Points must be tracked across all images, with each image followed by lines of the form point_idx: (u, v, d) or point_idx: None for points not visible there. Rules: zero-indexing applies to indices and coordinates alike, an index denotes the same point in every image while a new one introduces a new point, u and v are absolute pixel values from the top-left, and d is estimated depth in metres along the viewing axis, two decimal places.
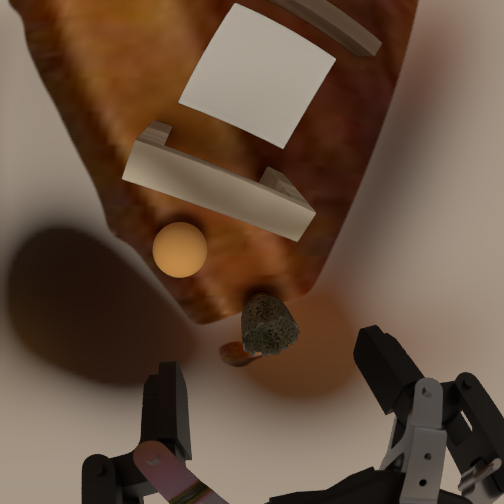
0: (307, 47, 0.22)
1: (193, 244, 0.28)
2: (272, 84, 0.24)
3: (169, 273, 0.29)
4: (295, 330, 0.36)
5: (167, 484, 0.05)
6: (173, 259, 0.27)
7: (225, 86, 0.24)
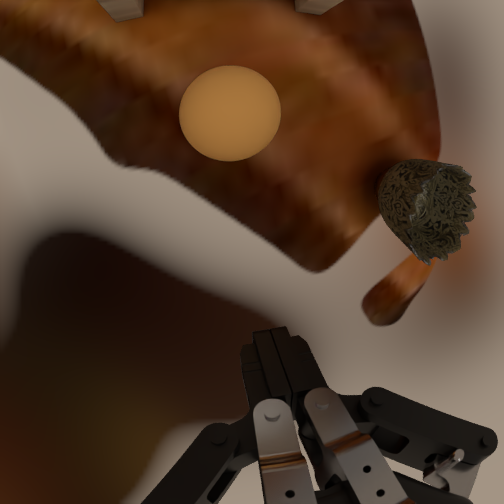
0: None
1: (244, 72, 0.13)
2: None
3: (225, 143, 0.14)
4: (465, 192, 0.16)
5: (270, 442, 0.07)
6: (220, 102, 0.12)
7: None
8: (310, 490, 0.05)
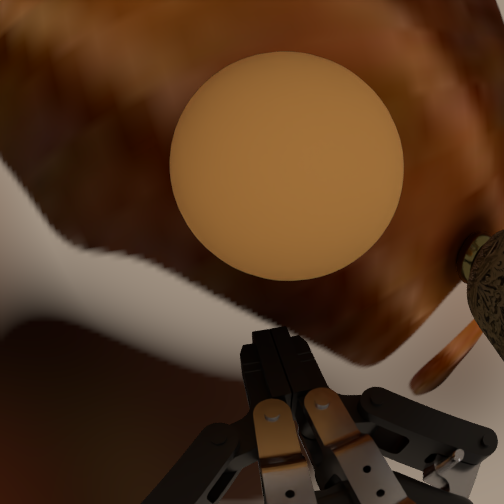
0: None
1: (343, 73, 0.05)
2: None
3: (296, 267, 0.06)
4: None
5: (270, 442, 0.07)
6: (293, 161, 0.04)
7: None
8: (310, 490, 0.05)
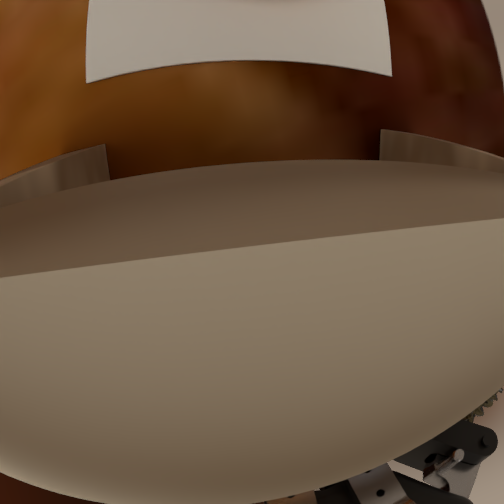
0: None
1: None
2: None
3: None
4: None
5: None
6: None
7: None
8: None
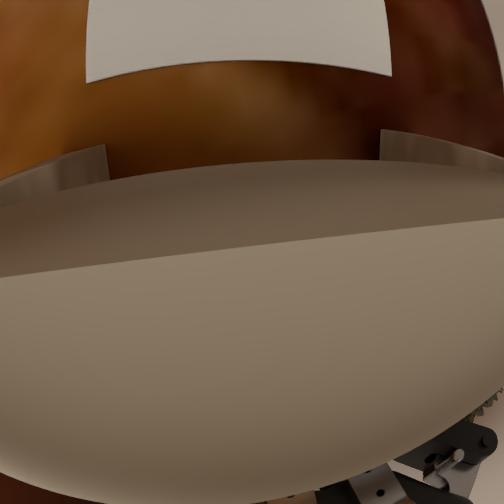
0: None
1: None
2: None
3: None
4: None
5: None
6: None
7: None
8: None
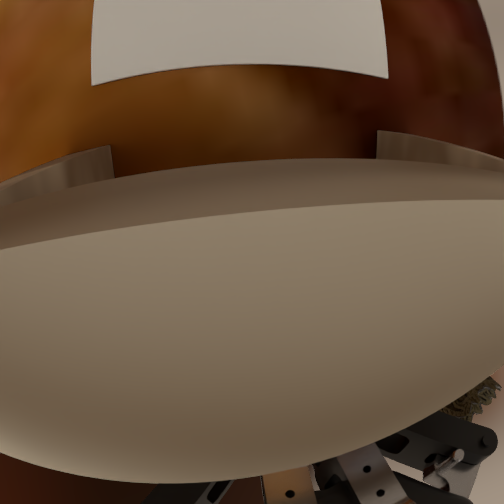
0: None
1: None
2: None
3: None
4: None
5: None
6: None
7: None
8: (310, 490, 0.05)
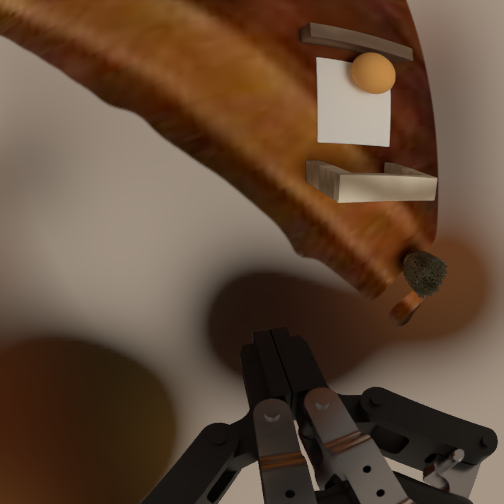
0: None
1: None
2: (366, 106, 0.33)
3: (376, 53, 0.26)
4: (442, 266, 0.40)
5: (270, 442, 0.07)
6: None
7: (341, 119, 0.33)
8: (310, 490, 0.05)
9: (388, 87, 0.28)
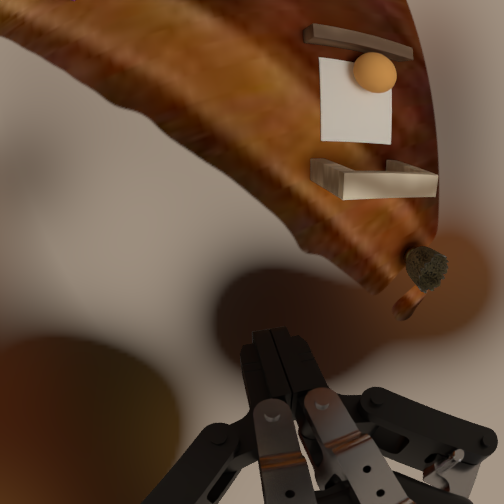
0: None
1: None
2: (368, 105, 0.34)
3: (377, 53, 0.26)
4: (444, 261, 0.41)
5: (270, 442, 0.07)
6: None
7: (344, 118, 0.34)
8: (310, 490, 0.05)
9: (389, 86, 0.28)
